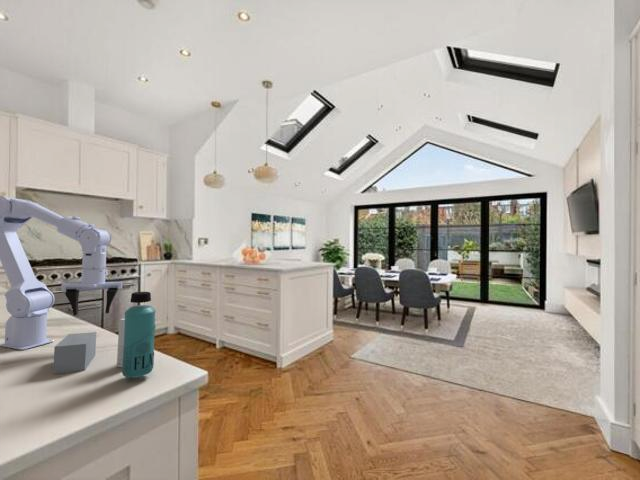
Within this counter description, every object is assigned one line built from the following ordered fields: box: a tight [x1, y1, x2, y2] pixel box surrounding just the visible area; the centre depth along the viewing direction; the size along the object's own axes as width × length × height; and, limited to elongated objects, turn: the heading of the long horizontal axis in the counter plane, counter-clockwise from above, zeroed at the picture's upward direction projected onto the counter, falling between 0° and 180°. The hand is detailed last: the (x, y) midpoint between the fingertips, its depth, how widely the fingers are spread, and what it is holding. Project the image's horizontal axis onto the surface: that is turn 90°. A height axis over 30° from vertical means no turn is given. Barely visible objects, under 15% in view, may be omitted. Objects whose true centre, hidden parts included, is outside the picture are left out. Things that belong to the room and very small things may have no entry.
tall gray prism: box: [52, 331, 97, 375], centre depth 76 cm, size 10×6×6 cm, turn 26°
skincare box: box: [116, 317, 125, 368], centre depth 78 cm, size 6×4×12 cm
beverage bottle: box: [121, 291, 157, 378], centre depth 70 cm, size 6×7×20 cm
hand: (91, 313), depth 90 cm, fingers open, 7 cm apart
